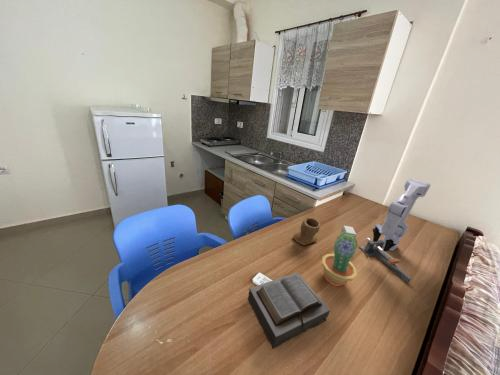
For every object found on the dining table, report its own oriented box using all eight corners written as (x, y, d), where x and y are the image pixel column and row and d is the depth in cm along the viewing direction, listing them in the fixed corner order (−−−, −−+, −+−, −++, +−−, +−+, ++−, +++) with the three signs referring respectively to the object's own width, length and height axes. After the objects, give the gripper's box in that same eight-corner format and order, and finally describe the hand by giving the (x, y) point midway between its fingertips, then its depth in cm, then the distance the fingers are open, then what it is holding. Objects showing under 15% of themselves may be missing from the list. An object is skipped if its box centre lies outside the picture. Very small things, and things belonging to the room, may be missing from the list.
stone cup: (304, 250, 111) (311, 227, 105) (290, 237, 120) (295, 216, 114) (322, 243, 119) (329, 222, 113) (307, 232, 128) (313, 211, 122)
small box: (350, 249, 117) (356, 234, 113) (340, 247, 118) (346, 232, 114) (347, 241, 125) (353, 227, 121) (338, 239, 125) (343, 224, 121)
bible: (333, 335, 71) (342, 316, 67) (262, 352, 63) (267, 333, 59) (301, 281, 91) (306, 264, 87) (244, 289, 83) (247, 271, 80)
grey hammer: (374, 246, 123) (379, 236, 121) (416, 281, 100) (423, 271, 97) (358, 247, 120) (363, 238, 117) (398, 284, 97) (404, 273, 94)
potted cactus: (310, 269, 98) (324, 227, 89) (334, 263, 105) (349, 222, 95) (334, 296, 86) (353, 250, 76) (358, 287, 92) (379, 243, 82)
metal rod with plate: (369, 240, 124) (371, 236, 122) (398, 264, 106) (400, 260, 105) (361, 240, 122) (363, 236, 121) (389, 265, 104) (391, 261, 103)
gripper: (373, 216, 107) (364, 237, 113) (394, 233, 94) (383, 255, 100) (384, 217, 109) (375, 237, 114) (407, 233, 95) (395, 255, 101)
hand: (379, 246), depth 107 cm, fingers open, 7 cm apart
